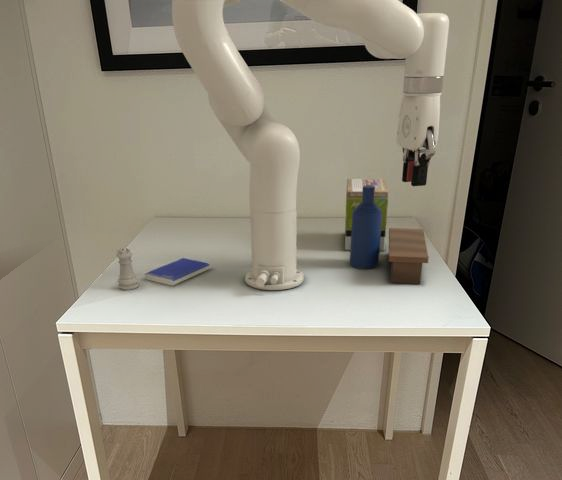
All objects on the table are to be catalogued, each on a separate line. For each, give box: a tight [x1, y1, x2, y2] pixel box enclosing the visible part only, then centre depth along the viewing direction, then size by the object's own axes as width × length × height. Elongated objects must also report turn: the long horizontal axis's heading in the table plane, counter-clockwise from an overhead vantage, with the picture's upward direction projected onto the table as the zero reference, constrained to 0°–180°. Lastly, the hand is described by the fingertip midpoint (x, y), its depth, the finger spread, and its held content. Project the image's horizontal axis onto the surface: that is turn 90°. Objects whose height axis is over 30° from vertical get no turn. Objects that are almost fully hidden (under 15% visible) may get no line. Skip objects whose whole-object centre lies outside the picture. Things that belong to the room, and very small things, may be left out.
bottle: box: [349, 185, 382, 270], centre depth 131 cm, size 7×7×18 cm
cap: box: [406, 161, 415, 183], centre depth 122 cm, size 4×4×4 cm
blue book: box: [144, 257, 211, 286], centre depth 129 cm, size 2×8×12 cm
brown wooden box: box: [388, 227, 429, 285], centre depth 131 cm, size 22×8×6 cm, turn 171°
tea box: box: [344, 178, 389, 252], centre depth 146 cm, size 15×10×15 cm, turn 175°
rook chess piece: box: [115, 247, 140, 291], centre depth 121 cm, size 4×4×8 cm
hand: (413, 182), depth 123 cm, fingers closed on cap, 3 cm apart
